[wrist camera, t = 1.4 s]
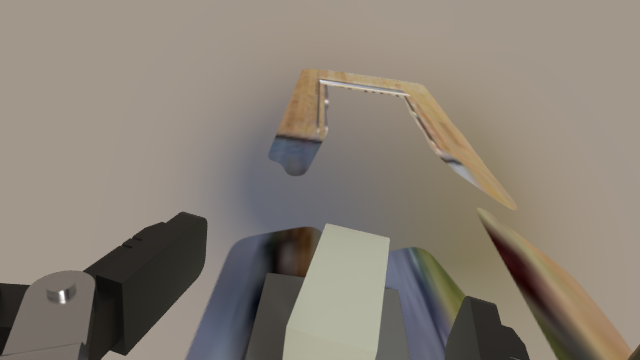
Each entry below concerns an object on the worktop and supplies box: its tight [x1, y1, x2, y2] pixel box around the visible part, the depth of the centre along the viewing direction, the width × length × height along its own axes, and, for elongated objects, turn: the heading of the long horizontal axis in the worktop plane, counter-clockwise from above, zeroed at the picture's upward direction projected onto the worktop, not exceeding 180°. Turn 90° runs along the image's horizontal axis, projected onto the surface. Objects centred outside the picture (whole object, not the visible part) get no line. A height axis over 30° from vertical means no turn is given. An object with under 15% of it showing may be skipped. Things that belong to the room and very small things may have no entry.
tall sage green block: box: [282, 224, 390, 360], centre depth 33 cm, size 12×6×12 cm, turn 166°
